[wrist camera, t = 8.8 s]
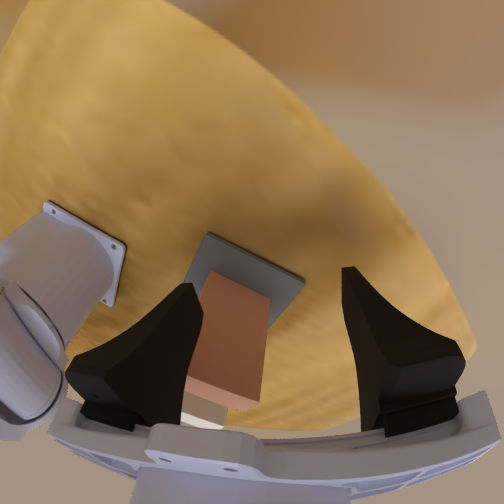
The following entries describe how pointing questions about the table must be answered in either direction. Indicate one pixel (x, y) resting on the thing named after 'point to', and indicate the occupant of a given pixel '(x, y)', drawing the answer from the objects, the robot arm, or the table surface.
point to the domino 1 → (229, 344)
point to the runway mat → (244, 273)
